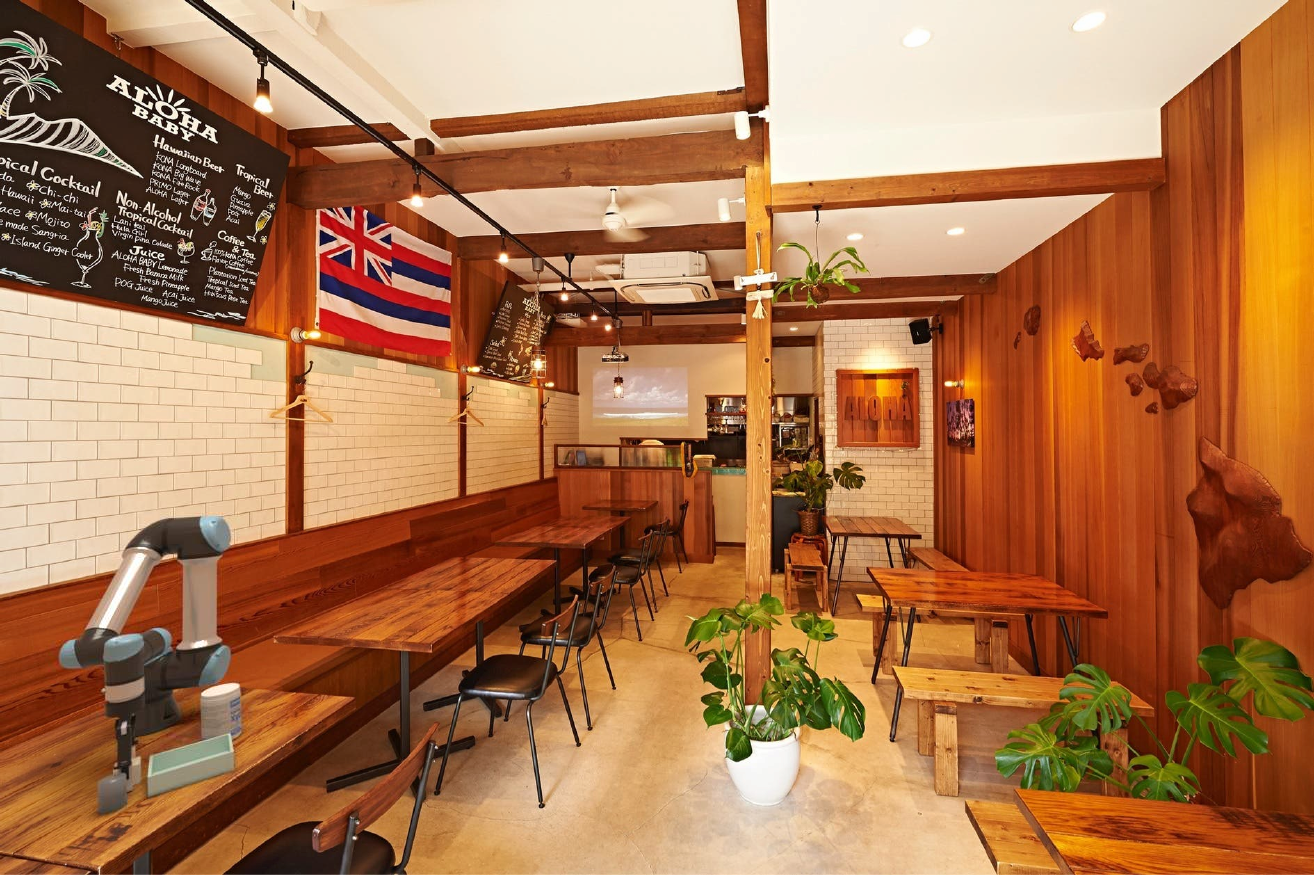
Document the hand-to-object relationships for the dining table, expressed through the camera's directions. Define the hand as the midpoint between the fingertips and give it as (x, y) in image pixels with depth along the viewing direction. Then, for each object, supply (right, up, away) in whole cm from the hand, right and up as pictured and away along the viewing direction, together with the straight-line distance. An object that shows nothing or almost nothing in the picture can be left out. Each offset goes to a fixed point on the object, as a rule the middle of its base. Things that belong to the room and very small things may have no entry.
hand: (127, 781), depth 148 cm
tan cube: (0, 0, 0) cm, 0 cm away
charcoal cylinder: (+6, 0, -10) cm, 12 cm away
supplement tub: (+8, 0, +21) cm, 23 cm away
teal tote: (+14, 0, +4) cm, 14 cm away
